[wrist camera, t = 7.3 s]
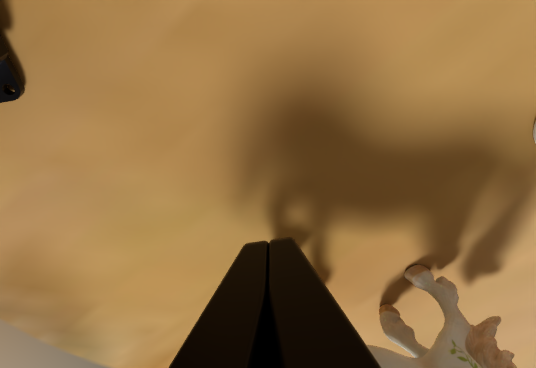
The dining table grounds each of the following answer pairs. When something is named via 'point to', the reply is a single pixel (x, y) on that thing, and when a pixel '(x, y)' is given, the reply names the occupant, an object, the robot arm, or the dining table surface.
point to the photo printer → (534, 132)
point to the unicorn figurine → (441, 333)
